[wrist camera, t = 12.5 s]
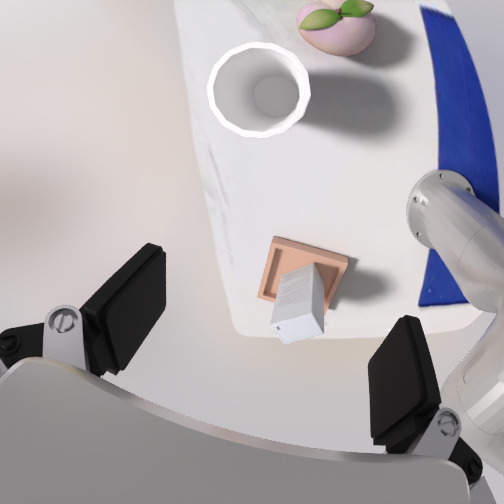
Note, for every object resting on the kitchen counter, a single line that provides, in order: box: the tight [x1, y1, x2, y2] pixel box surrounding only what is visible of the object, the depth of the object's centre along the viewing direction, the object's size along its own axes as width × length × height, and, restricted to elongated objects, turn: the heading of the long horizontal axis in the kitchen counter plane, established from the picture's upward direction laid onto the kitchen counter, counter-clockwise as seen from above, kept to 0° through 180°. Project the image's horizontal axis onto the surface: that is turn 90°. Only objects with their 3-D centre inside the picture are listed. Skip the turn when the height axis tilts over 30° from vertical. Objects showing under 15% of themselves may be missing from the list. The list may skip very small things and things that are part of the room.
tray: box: [257, 236, 348, 315], centre depth 44 cm, size 12×11×2 cm
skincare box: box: [270, 262, 324, 344], centre depth 39 cm, size 6×4×12 cm
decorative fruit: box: [297, 0, 376, 56], centre depth 22 cm, size 9×8×10 cm
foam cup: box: [207, 42, 311, 138], centre depth 27 cm, size 10×9×13 cm
